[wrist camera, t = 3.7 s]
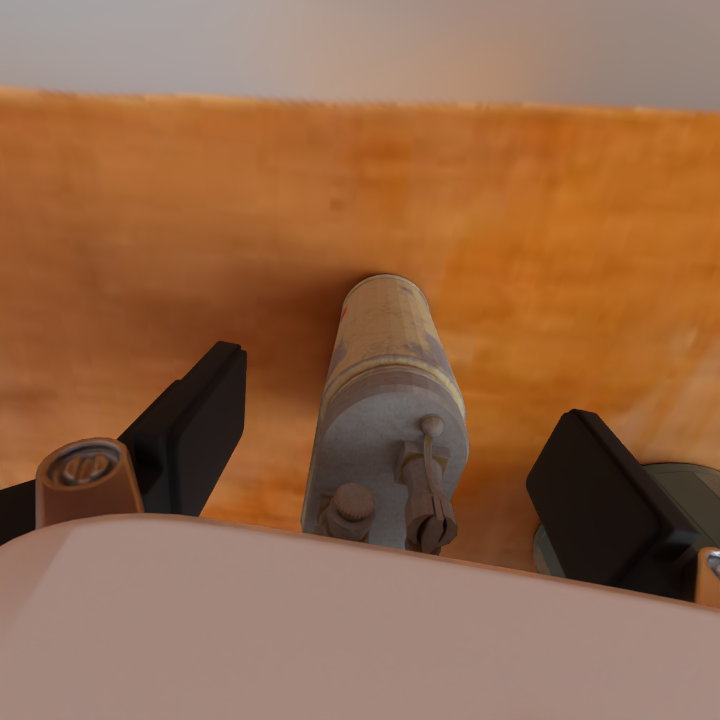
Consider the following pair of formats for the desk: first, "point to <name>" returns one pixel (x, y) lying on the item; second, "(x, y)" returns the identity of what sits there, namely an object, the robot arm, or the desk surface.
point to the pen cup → (685, 489)
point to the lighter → (387, 426)
